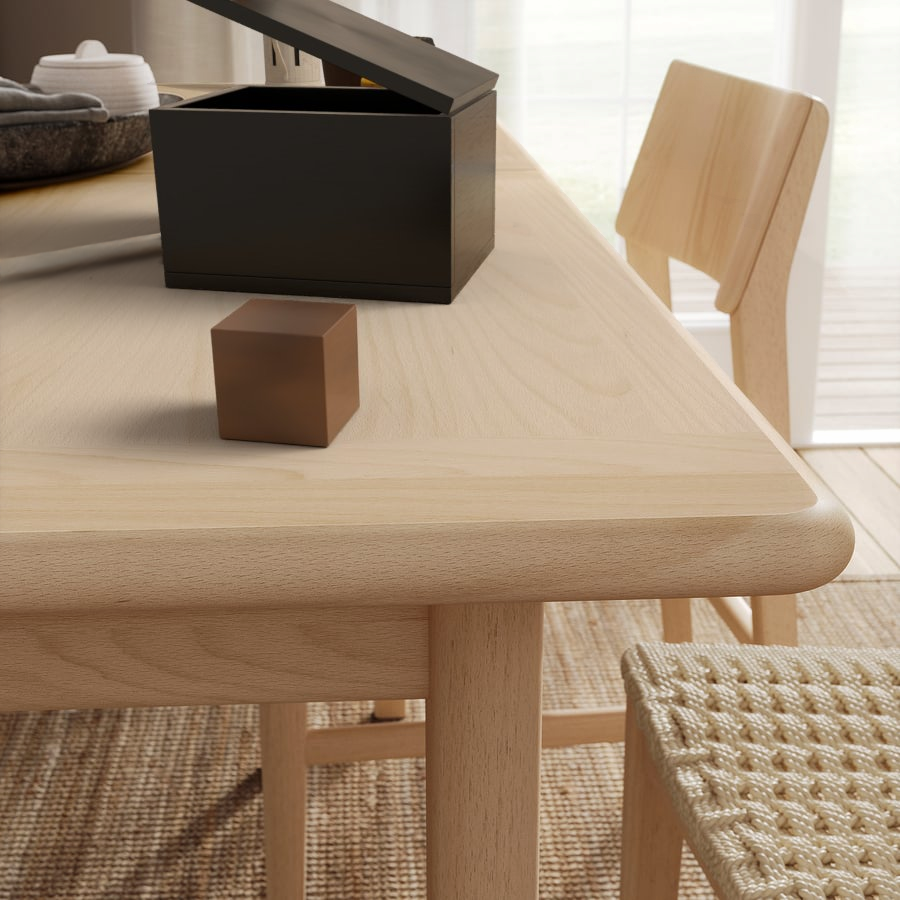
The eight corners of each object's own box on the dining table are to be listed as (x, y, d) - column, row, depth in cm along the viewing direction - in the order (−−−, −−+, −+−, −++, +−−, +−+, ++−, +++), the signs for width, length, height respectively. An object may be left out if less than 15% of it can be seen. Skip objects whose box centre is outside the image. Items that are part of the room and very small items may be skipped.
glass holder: (330, 87, 171) (326, -24, 165) (306, 97, 158) (301, -22, 152) (272, 86, 172) (266, -24, 166) (244, 96, 159) (236, -22, 153)
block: (218, 438, 46) (209, 328, 44) (259, 399, 50) (252, 297, 48) (328, 447, 45) (323, 336, 44) (360, 407, 49) (357, 303, 48)
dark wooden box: (165, 287, 67) (147, 109, 63) (251, 236, 80) (241, 84, 76) (451, 304, 64) (451, 117, 60) (494, 247, 76) (497, 89, 73)
